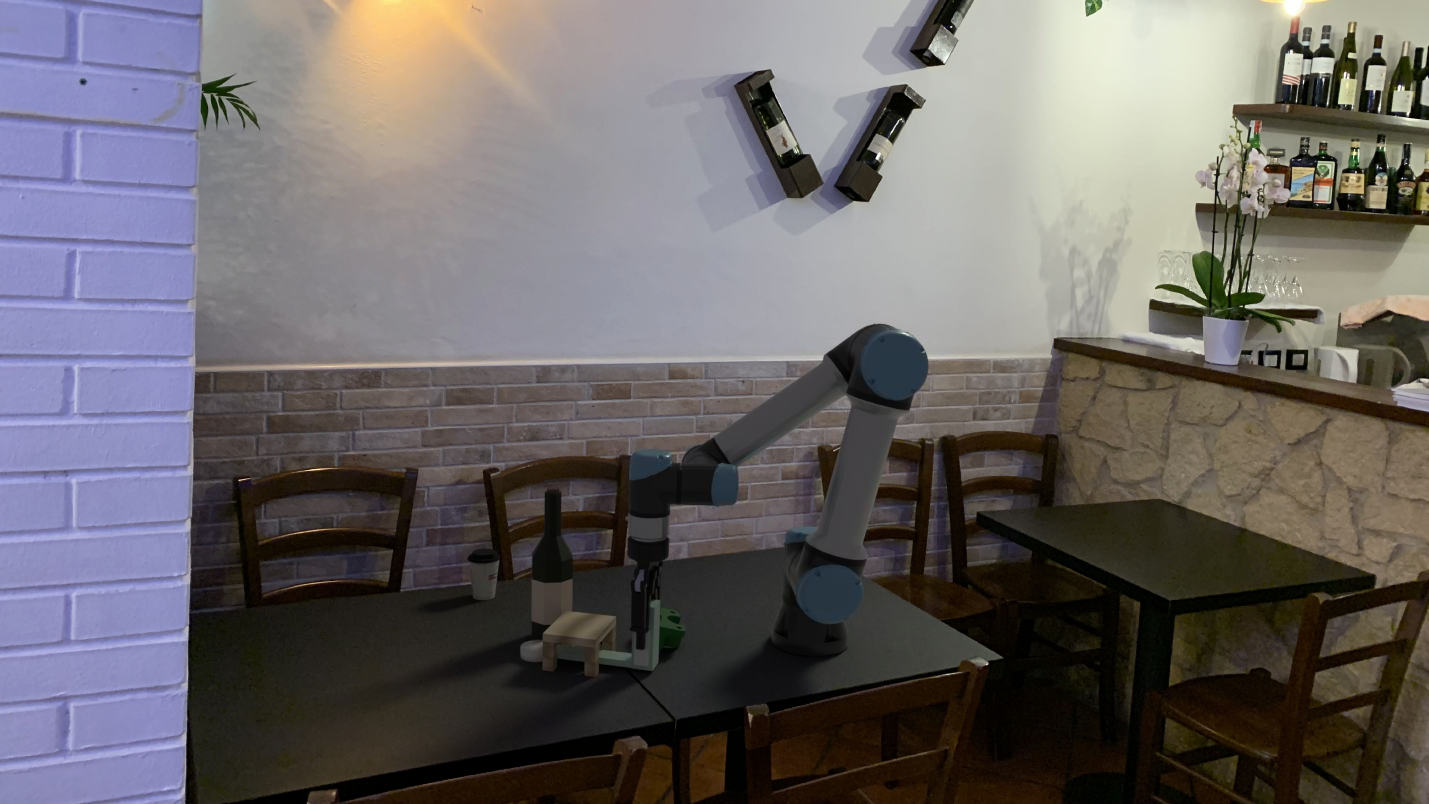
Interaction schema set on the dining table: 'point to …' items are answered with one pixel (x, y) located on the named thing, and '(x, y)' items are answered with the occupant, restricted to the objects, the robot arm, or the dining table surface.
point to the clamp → (670, 629)
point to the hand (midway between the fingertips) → (644, 659)
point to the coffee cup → (483, 573)
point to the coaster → (532, 651)
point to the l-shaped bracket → (621, 657)
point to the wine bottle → (551, 570)
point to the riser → (580, 638)
